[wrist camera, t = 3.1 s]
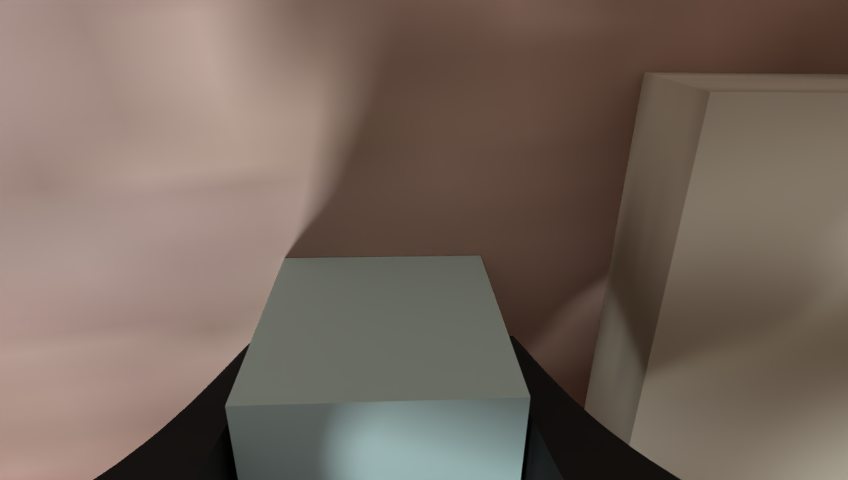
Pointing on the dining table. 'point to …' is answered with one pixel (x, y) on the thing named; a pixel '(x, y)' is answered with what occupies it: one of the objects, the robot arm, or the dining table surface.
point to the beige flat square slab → (731, 280)
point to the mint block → (380, 375)
